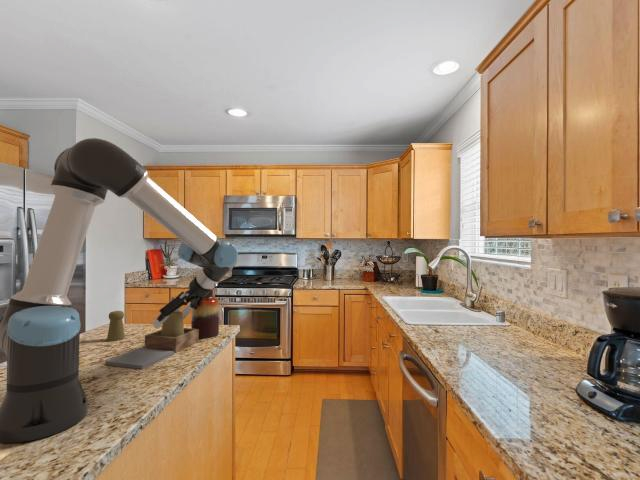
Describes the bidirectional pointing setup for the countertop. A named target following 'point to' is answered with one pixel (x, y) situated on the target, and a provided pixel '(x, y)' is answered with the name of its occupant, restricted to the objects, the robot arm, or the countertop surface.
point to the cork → (116, 326)
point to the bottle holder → (172, 340)
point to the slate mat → (139, 358)
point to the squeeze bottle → (173, 324)
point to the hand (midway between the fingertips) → (168, 321)
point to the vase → (206, 317)
